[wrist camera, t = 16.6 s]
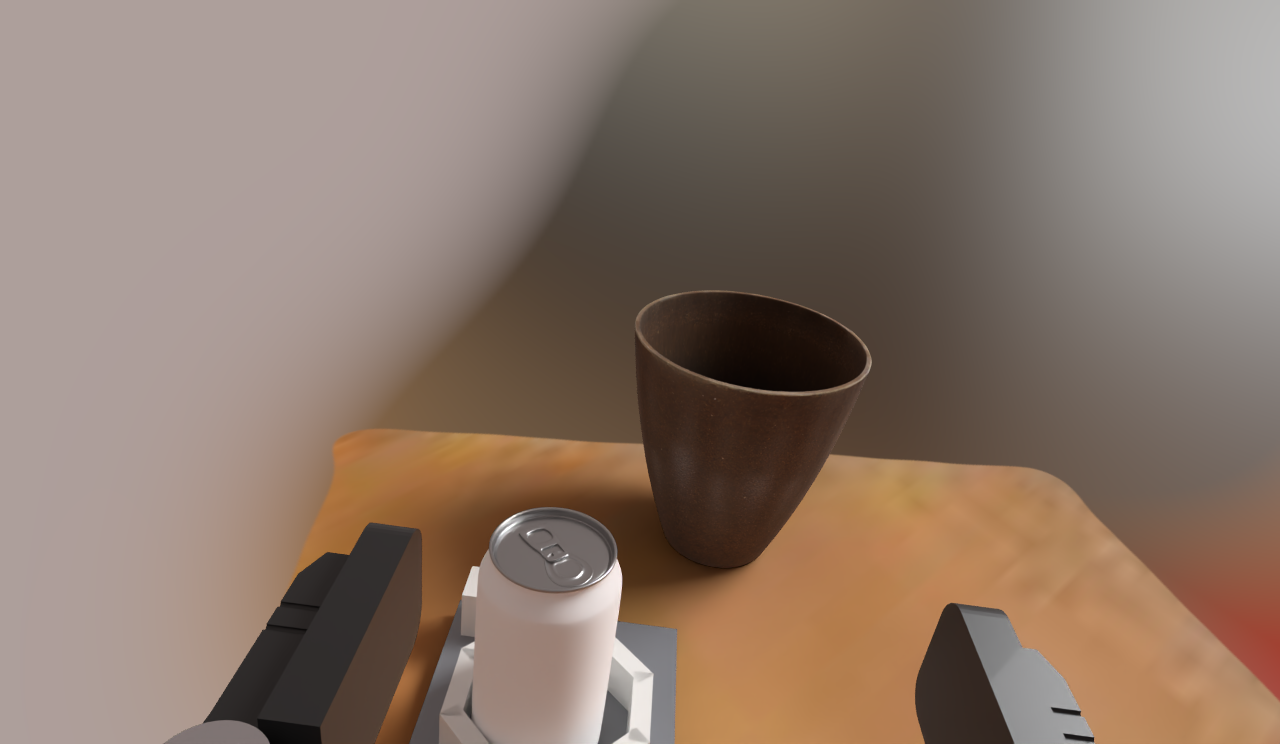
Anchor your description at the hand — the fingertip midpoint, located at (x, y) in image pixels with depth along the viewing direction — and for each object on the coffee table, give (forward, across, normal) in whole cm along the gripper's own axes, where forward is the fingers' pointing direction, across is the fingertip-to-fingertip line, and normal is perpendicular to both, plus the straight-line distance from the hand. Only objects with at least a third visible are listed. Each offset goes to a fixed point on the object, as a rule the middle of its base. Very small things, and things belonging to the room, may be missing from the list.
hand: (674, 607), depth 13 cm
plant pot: (+38, -6, +28) cm, 48 cm away
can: (+19, +4, +27) cm, 33 cm away
